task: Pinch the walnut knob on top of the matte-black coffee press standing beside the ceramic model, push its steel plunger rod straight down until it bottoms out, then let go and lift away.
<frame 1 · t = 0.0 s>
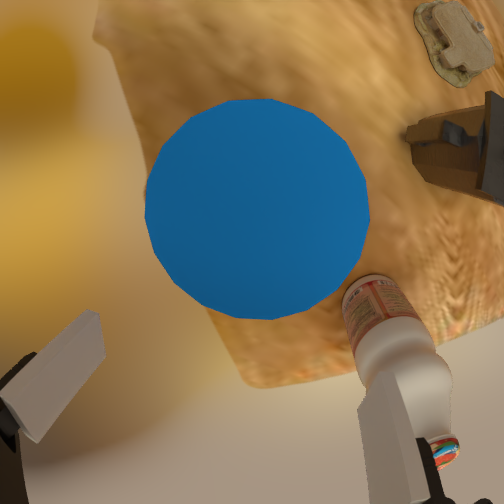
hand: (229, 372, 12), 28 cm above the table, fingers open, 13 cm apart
press body: (440, 150, 31), on the table
fruit juice: (370, 300, 40), on the table
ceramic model: (446, 44, 25), on the table
thermos: (277, 176, 36), on the table
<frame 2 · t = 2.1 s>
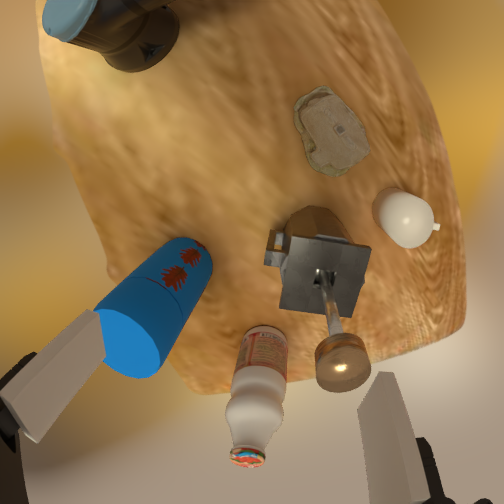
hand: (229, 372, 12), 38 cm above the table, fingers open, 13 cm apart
plunger: (331, 309, 26), point 23 cm above the table, slide at 0.0 cm
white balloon: (392, 209, 45), on the table
press body: (313, 235, 48), on the table
fruit juice: (265, 342, 57), on the table
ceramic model: (328, 132, 42), on the table
thermos: (186, 263, 53), on the table
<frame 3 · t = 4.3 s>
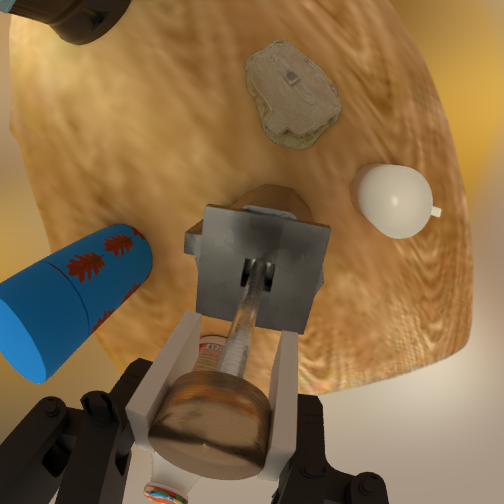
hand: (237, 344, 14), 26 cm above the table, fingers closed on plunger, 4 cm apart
plunger: (244, 319, 16), point 23 cm above the table, slide at 0.0 cm, touching gripper
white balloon: (377, 191, 34), on the table
press body: (272, 223, 38), on the table
fruit juice: (218, 355, 46), on the table
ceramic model: (290, 95, 32), on the table
thermos: (124, 255, 43), on the table
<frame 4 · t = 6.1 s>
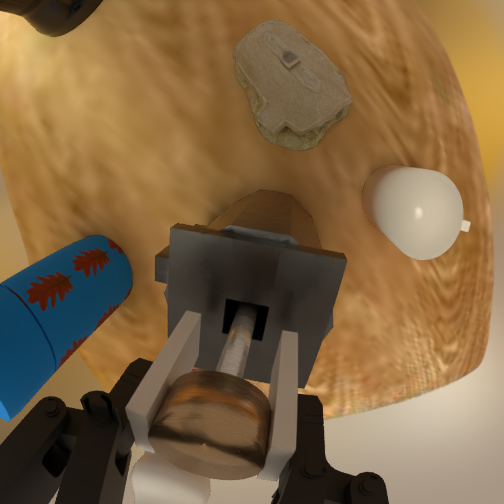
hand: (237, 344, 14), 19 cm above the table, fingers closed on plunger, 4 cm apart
plunger: (244, 319, 16), point 17 cm above the table, slide at 6.4 cm, touching gripper
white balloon: (393, 198, 28), on the table
press body: (268, 236, 32), on the table
fruit juice: (208, 379, 41), on the table
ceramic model: (289, 86, 26), on the table
thermos: (103, 270, 37), on the table
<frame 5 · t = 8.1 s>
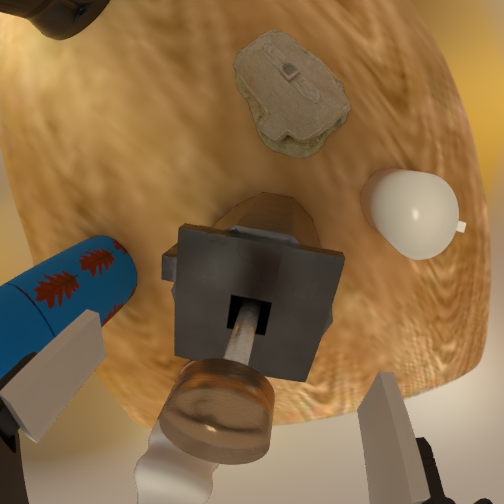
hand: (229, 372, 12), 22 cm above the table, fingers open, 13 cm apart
plunger: (248, 315, 17), point 17 cm above the table, slide at 6.4 cm
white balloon: (391, 201, 29), on the table
press body: (270, 237, 33), on the table
fruit juice: (211, 378, 41), on the table
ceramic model: (289, 94, 28), on the table
thermos: (107, 270, 38), on the table
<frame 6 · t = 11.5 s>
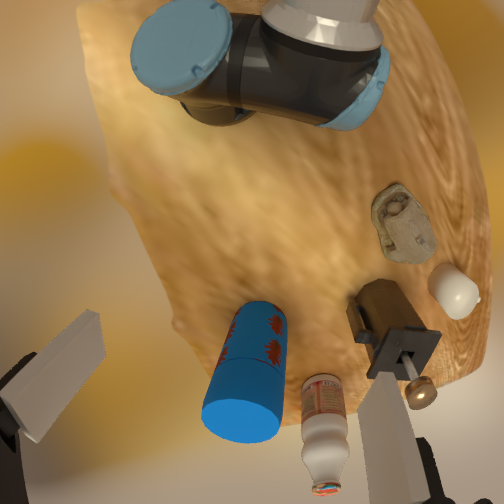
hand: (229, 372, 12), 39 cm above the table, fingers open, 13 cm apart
plunger: (405, 357, 35), point 17 cm above the table, slide at 6.4 cm
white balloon: (442, 280, 48), on the table
press body: (378, 302, 51), on the table
fruit juice: (321, 386, 60), on the table
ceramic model: (399, 224, 46), on the table
thermos: (260, 323, 56), on the table
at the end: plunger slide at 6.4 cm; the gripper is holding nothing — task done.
